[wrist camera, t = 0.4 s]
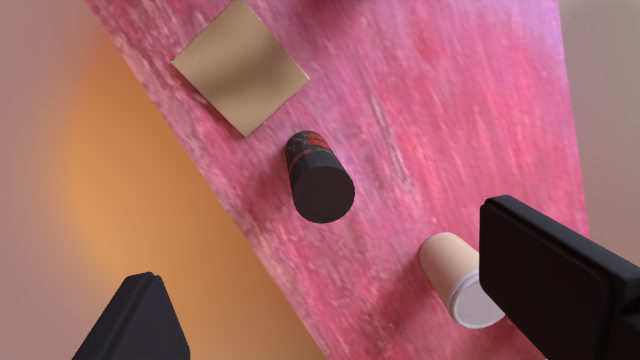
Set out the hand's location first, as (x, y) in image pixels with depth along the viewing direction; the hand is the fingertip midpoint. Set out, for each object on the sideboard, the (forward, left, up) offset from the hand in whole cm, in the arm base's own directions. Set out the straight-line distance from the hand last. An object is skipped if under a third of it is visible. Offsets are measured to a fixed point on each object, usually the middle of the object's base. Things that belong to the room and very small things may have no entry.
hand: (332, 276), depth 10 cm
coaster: (-6, -1, -36) cm, 36 cm away
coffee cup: (+35, +3, -36) cm, 50 cm away
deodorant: (+7, -2, -36) cm, 36 cm away
